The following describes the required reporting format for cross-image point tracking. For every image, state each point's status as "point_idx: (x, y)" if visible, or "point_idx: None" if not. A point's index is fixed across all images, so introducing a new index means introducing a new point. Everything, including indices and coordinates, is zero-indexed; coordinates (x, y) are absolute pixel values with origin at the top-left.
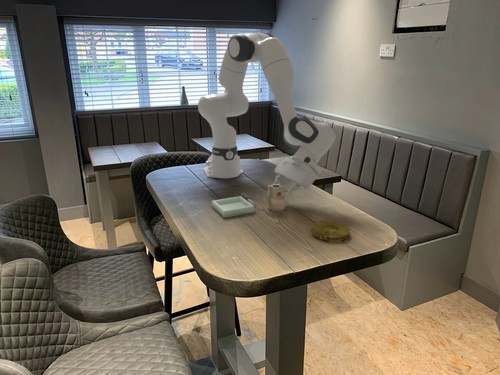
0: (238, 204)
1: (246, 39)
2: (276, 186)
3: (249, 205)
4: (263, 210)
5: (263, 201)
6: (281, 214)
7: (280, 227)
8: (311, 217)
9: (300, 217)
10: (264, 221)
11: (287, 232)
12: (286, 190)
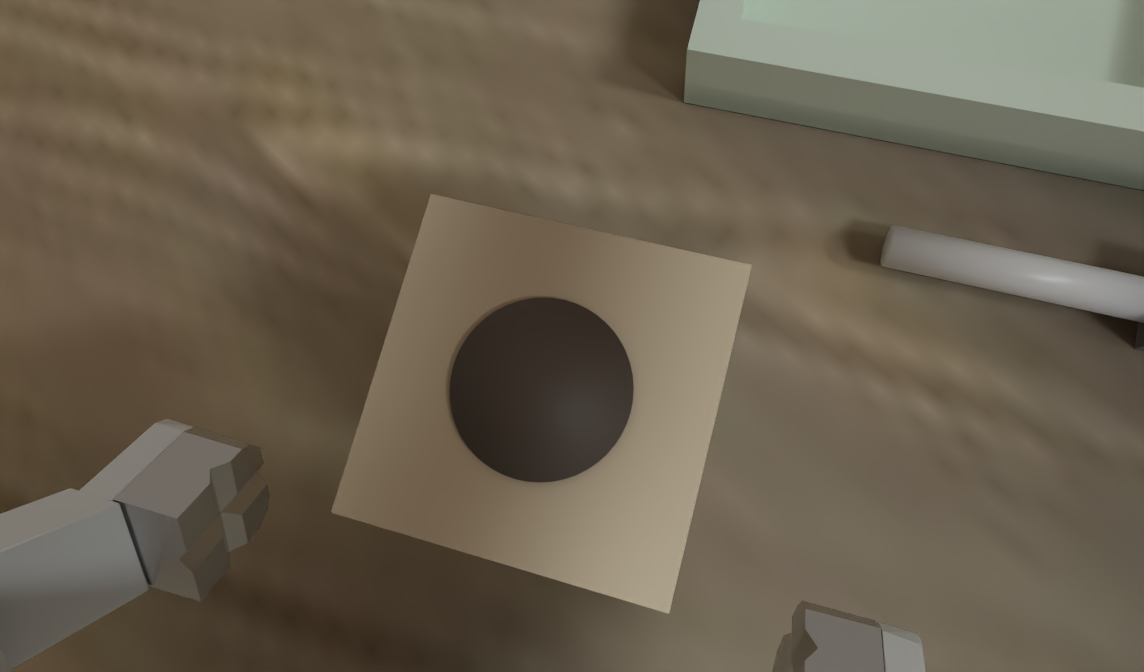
0: (1024, 31)
1: None
2: (489, 355)
3: (780, 32)
4: None
5: (973, 510)
6: None
7: (141, 67)
8: None
9: None
10: (380, 31)
11: (14, 43)
12: (216, 439)
